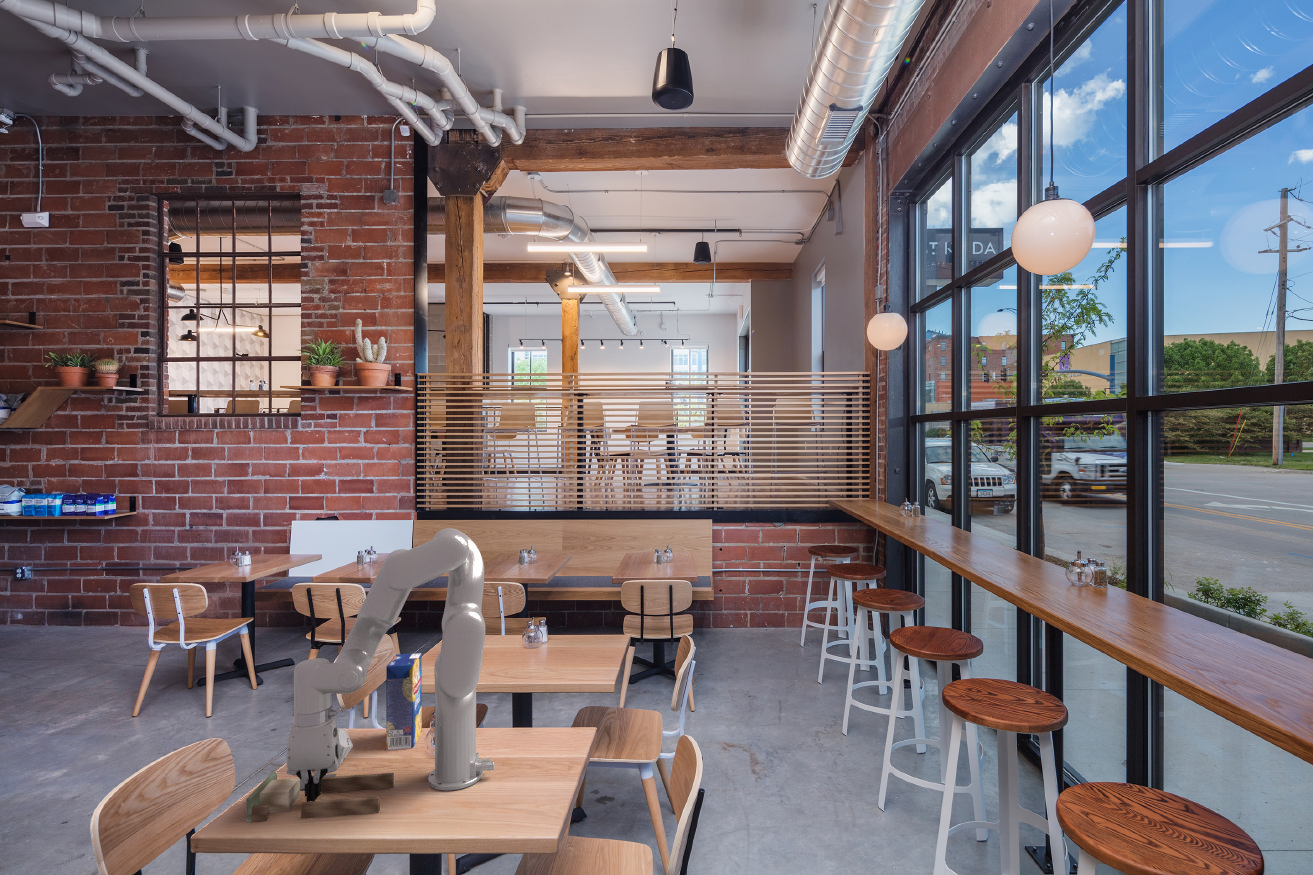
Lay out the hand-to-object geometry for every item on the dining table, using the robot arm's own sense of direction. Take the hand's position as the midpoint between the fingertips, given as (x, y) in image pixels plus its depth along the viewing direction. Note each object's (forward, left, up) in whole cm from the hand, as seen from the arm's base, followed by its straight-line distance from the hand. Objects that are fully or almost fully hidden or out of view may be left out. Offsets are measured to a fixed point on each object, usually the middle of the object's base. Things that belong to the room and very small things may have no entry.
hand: (313, 798), depth 147 cm
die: (+3, -20, -1) cm, 21 cm away
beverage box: (-12, -31, -1) cm, 34 cm away
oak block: (+7, 0, -1) cm, 7 cm away
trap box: (-3, 0, -1) cm, 3 cm away
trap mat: (+4, -10, -1) cm, 11 cm away
